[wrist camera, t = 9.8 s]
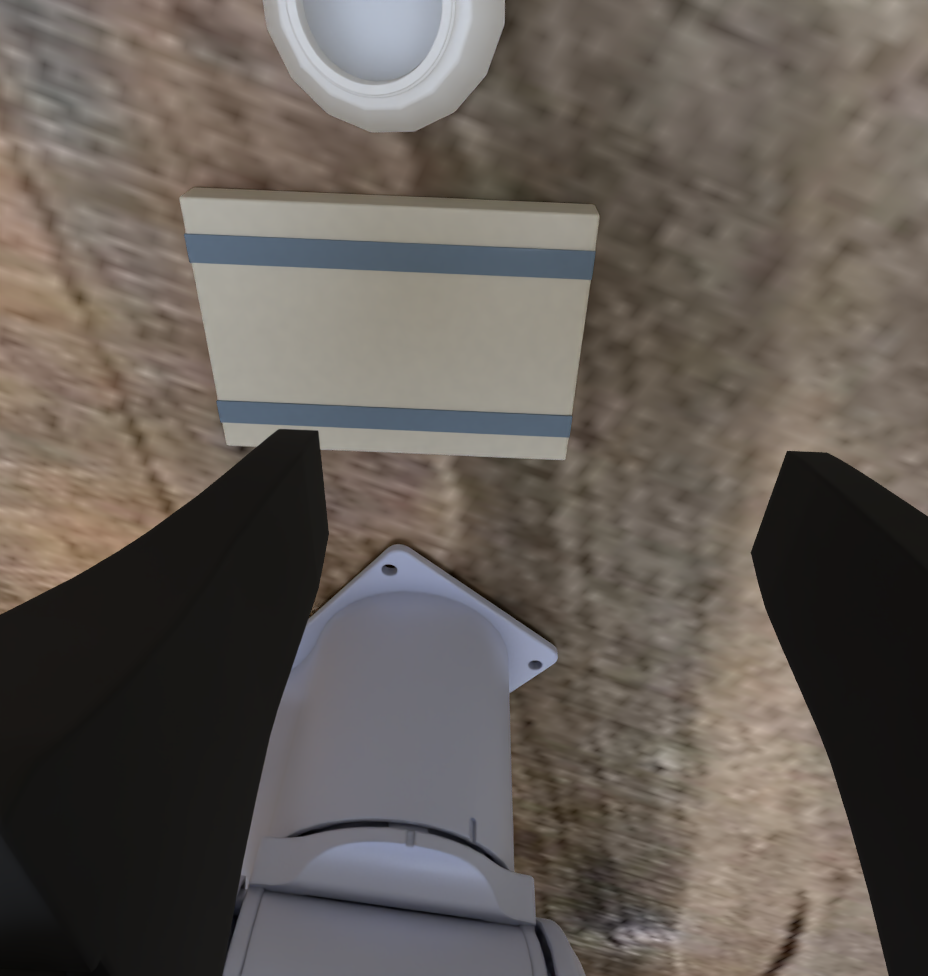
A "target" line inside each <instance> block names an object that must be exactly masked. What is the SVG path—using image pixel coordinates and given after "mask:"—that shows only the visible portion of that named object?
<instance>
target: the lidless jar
mask: <svg viewBox="0 0 928 976" xmlns="http://www.w3.org/2000/svg"><path fill="white" fill-rule="evenodd" d="M263 6H264V13H265V20H266V26H267V30H268V32H269V34H270V36H271V38H272V40H273V42H274V44H275V46H276V48H277V50H278V52H279V54H280V56H281V58H282V60H283V62H284V64H285V66H286V68H287V70H288V72H289V74H290V76H291V78H292V79H293V80H294V81H295V82H296V83H297V84H298V85H299V86H300V87H301V88H302V89H303V90H304V91H305V92H306V93H307V94H308V95H309V96H310V97H311V98H312V99H313V100H314V101H315V102H316V103H317V104H318V105H319V106H320V107H321V108H322V109H323V110H324V111H325V112H326V113H327V114H329V115H331V116H333V117H336V118H338V119H340V120H343V121H345V122H347V123H350V124H352V125H354V126H357V127H359V128H361V129H364V130H366V131H369V132H415V131H417V130H419V129H421V128H423V127H425V126H427V125H429V124H431V123H433V122H436V121H438V120H440V119H442V118H444V117H446V116H448V115H450V114H452V113H454V112H455V111H456V110H457V109H458V108H459V107H460V105H461V104H462V103H463V102H464V101H465V100H466V98H467V97H468V96H469V95H470V94H471V93H472V91H473V90H474V89H475V88H476V87H477V86H478V84H479V83H480V82H481V81H482V80H483V78H484V77H485V76H486V75H487V72H488V69H489V66H490V64H491V61H492V58H493V55H494V52H495V50H496V47H497V44H498V41H499V38H500V36H501V33H502V30H503V27H504V24H505V0H263Z"/></svg>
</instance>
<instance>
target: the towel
mask: <svg viewBox="0 0 928 976" xmlns="http://www.w3.org/2000/svg"><path fill="white" fill-rule="evenodd" d="M180 205H181V210H182V215H183V220H184V225H185V231H186V233H185V234H184V236H185V241H186V246H187V252H188V257H189V262H190V263H192V267H193V272H194V278H195V283H196V288H197V293H198V298H199V304H200V309H201V314H202V319H203V324H204V330H205V335H206V340H207V345H208V350H209V356H210V361H211V366H212V371H213V377H214V382H215V387H216V392H217V397H218V400H217V401H216V402H217V407H218V412H219V417H220V422H222V423H223V429H224V434H225V439H226V444H227V445H228V446H251V447H257V446H258V445H260V444H261V443H262V442H263V441H264V440H265V439H267V438H268V437H269V436H270V435H272V434H273V433H274V432H275V431H277V430H278V429H296V430H318V432H319V442H320V450H342V451H365V452H388V453H411V454H434V455H457V456H479V457H502V458H525V459H548V460H565V458H566V453H567V446H568V439H569V437H570V430H571V423H572V411H573V403H574V396H575V389H576V382H577V375H578V368H579V361H580V354H581V347H582V339H583V332H584V325H585V318H586V311H587V304H588V297H589V290H590V283H591V280H592V274H593V267H594V260H595V253H596V251H595V247H596V240H597V233H598V226H599V219H600V216H599V213H598V211H597V209H596V207H595V205H593V204H576V203H552V202H529V201H505V200H482V199H458V198H435V197H411V196H387V195H364V194H340V193H317V192H293V191H270V190H246V189H223V188H199V187H193V188H192V189H190V190H189V191H187V192H186V193H185V194H183V195H182V196H180Z"/></svg>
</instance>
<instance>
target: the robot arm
mask: <svg viewBox="0 0 928 976" xmlns="http://www.w3.org/2000/svg"><path fill="white" fill-rule="evenodd" d="M328 535H329V531H328V521H327V511H326V501H325V492H324V482H323V472H322V462H321V452H320V442H319V432H318V430H296V429H278V430H277V431H275V432H274V433H273V434H272V435H270V436H269V437H268V438H267V439H265V440H264V441H263V442H262V443H261V444H260V445H258V446H257V447H256V448H255V449H254V450H252V451H251V452H250V453H249V454H248V455H247V456H245V457H244V458H243V459H242V460H241V461H240V462H238V463H237V464H236V465H235V466H234V467H232V468H231V469H230V470H229V471H227V472H226V473H225V474H224V475H223V476H221V477H220V478H219V479H218V480H216V481H215V482H214V483H213V484H212V485H210V486H209V487H208V488H207V489H205V490H204V491H203V492H202V493H200V494H199V495H198V496H197V497H195V498H194V499H192V500H191V501H190V502H188V503H187V504H186V505H184V506H183V507H182V508H180V509H179V510H177V511H176V512H175V513H173V514H172V515H171V516H169V517H168V518H166V519H165V520H164V521H162V522H161V523H160V524H158V525H157V526H155V527H154V528H153V529H151V530H150V531H149V532H147V533H146V534H144V535H143V536H141V537H140V538H138V539H137V540H135V541H134V542H132V543H131V544H129V545H127V546H126V547H124V548H123V549H121V550H120V551H118V552H116V553H115V554H113V555H111V556H110V557H108V558H106V559H105V560H103V561H101V562H100V563H98V564H96V565H95V566H93V567H91V568H89V569H88V570H86V571H84V572H83V573H81V574H79V575H77V576H75V577H74V578H72V579H70V580H68V581H66V582H64V583H62V584H60V585H58V586H56V587H54V588H52V589H50V590H48V591H46V592H44V593H42V594H41V595H39V596H37V597H35V598H33V599H31V600H29V601H27V602H25V603H23V604H21V605H19V606H17V607H15V608H13V609H11V610H9V611H7V612H5V613H3V614H1V615H0V976H585V973H584V970H583V968H582V965H581V963H580V961H579V959H578V957H577V956H576V954H575V953H574V951H573V949H572V948H571V946H570V943H569V941H568V939H567V937H566V936H565V934H564V932H563V931H562V929H561V928H560V926H559V925H557V924H556V923H555V922H554V921H552V920H549V919H544V918H537V917H536V913H535V893H534V878H533V877H531V876H529V875H524V874H519V873H516V872H514V844H513V808H512V773H511V737H510V701H509V693H511V692H512V691H514V690H515V689H517V688H518V687H520V686H521V685H523V684H524V683H526V682H527V681H529V680H530V679H532V678H533V677H535V676H536V675H538V674H539V673H541V672H542V671H544V670H545V669H547V668H548V667H550V666H551V665H553V664H554V663H555V662H556V661H557V659H558V653H557V648H556V647H555V646H554V645H553V644H551V643H550V642H548V641H547V640H545V639H544V638H543V637H541V636H540V635H538V634H537V633H535V632H534V631H532V630H531V629H529V628H528V627H526V626H525V625H523V624H522V623H520V622H519V621H517V620H516V619H514V618H513V617H511V616H510V615H509V614H507V613H506V612H504V611H503V610H501V609H500V608H498V607H497V606H495V605H494V604H492V603H491V602H489V601H488V600H486V599H485V598H483V597H482V596H480V595H479V594H477V593H476V592H475V591H473V590H472V589H470V588H469V587H467V586H466V585H464V584H463V583H461V582H460V581H458V580H457V579H455V578H454V577H452V576H451V575H449V574H448V573H446V572H445V571H443V570H442V569H441V568H439V567H438V566H436V565H435V564H433V563H432V562H430V561H429V560H427V559H426V558H424V557H423V556H421V555H420V554H418V553H417V552H415V551H414V550H412V549H411V548H409V547H408V546H405V545H401V544H396V545H392V546H390V547H388V548H387V549H386V550H385V551H384V552H383V553H382V554H380V555H379V556H378V557H377V558H376V559H375V560H374V561H373V562H372V563H370V564H369V565H368V566H367V567H366V568H365V569H364V570H363V571H361V572H360V573H359V574H358V575H357V576H356V577H355V578H354V579H353V580H351V581H350V582H349V583H348V584H347V585H346V586H345V587H344V588H342V589H341V590H340V591H339V592H338V593H337V594H336V595H335V596H333V597H332V598H331V599H330V600H329V601H328V602H327V603H326V604H325V605H323V606H322V607H321V608H320V609H319V610H318V611H317V612H316V613H314V614H313V615H312V616H311V617H310V618H309V615H310V612H311V609H312V606H313V603H314V600H315V597H316V594H317V591H318V588H319V583H320V578H321V573H322V568H323V563H324V557H325V552H326V546H327V541H328ZM751 555H752V559H753V563H754V567H755V572H756V576H757V580H758V584H759V587H760V591H761V594H762V598H763V601H764V605H765V608H766V611H767V613H768V616H769V618H770V621H771V623H772V625H773V628H774V630H775V632H776V635H777V637H778V640H779V642H780V644H781V647H782V649H783V651H784V654H785V656H786V658H787V660H788V663H789V665H790V667H791V670H792V672H793V674H794V676H795V679H796V681H797V683H798V686H799V688H800V690H801V692H802V695H803V697H804V699H805V702H806V704H807V706H808V708H809V711H810V713H811V715H812V718H813V720H814V722H815V724H816V727H817V729H818V731H819V734H820V736H821V739H822V742H823V744H824V747H825V749H826V752H827V755H828V757H829V760H830V763H831V766H832V769H833V772H834V775H835V779H836V782H837V785H838V788H839V791H840V795H841V798H842V801H843V804H844V808H845V811H846V814H847V817H848V820H849V824H850V827H851V831H852V834H853V838H854V842H855V845H856V849H857V852H858V856H859V860H860V863H861V867H862V870H863V874H864V878H865V881H866V885H867V888H868V892H869V896H870V900H871V904H872V908H873V912H874V917H875V921H876V925H877V929H878V933H879V937H880V941H881V945H882V950H883V954H884V958H885V962H886V966H887V970H888V974H889V976H928V516H926V515H925V514H923V513H922V512H920V511H919V510H917V509H916V508H914V507H913V506H911V505H910V504H908V503H907V502H905V501H904V500H902V499H901V498H899V497H898V496H896V495H895V494H893V493H892V492H890V491H889V490H887V489H886V488H884V487H883V486H881V485H880V484H878V483H877V482H875V481H874V480H872V479H871V478H869V477H868V476H866V475H864V474H863V473H861V472H860V471H858V470H857V469H855V468H853V467H852V466H850V465H848V464H847V463H845V462H843V461H842V460H840V459H838V458H836V457H834V456H832V455H831V454H829V453H822V452H799V451H787V453H786V455H785V458H784V461H783V464H782V467H781V469H780V472H779V475H778V478H777V481H776V483H775V486H774V489H773V492H772V495H771V497H770V500H769V503H768V506H767V509H766V511H765V514H764V517H763V520H762V523H761V525H760V528H759V531H758V534H757V537H756V539H755V542H754V545H753V548H752V551H751ZM387 564H391V565H393V566H395V567H394V568H388V567H386V566H385V565H387ZM308 618H309V619H308Z"/></svg>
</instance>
